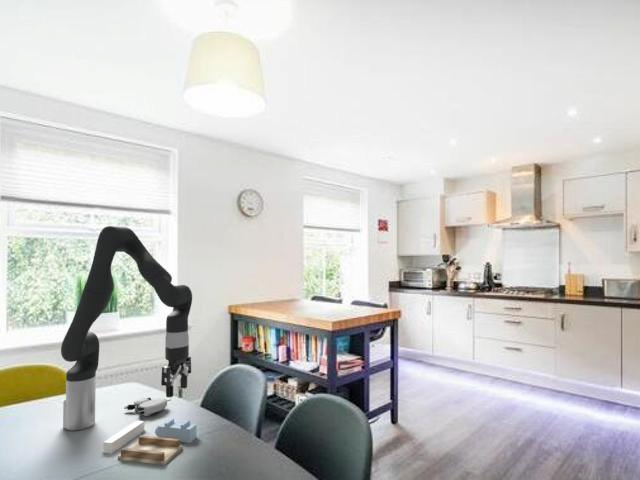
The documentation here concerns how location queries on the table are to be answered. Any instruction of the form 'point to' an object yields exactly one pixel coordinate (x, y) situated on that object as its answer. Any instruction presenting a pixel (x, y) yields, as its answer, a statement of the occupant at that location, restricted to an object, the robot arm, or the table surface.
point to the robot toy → (148, 405)
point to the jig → (152, 450)
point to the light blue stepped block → (177, 430)
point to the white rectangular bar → (123, 437)
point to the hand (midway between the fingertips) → (177, 392)
